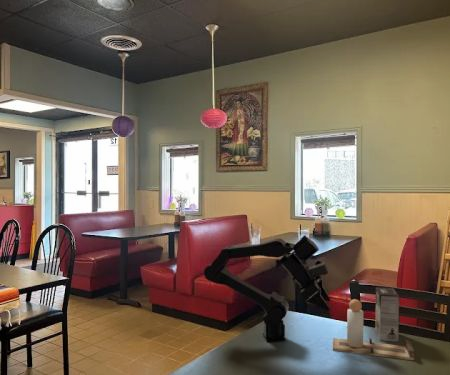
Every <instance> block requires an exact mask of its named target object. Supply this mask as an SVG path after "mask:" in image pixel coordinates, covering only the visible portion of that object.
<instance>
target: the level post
mask: <svg viewBox="0 0 450 375" xmlns="http://www.w3.org/2000/svg"><path fill="white" fill-rule="evenodd" d="M348 306H349V308H348V309H346V310H347V312H346V313H347V314H346V315H347V316H346V320H347V321H346V323H347V325H346V329H347V330H346V332H347V333H346V340H347V344H348V345H349V346H351V347H357V348H358V347H362V346H363V341H364V310H362V307H363V306H362V302H361V300H359V299H356V298H354V299H351V300H350V301H349V303H348Z"/></svg>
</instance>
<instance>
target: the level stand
mask: <svg viewBox="0 0 450 375" xmlns="http://www.w3.org/2000/svg"><path fill="white" fill-rule="evenodd" d="M332 351H335V352H337V351H338V352H343V353H344V352H345V353H353V354H360V355H368V356H375V357H376V356H377V357H383V358H391V359H401V360H407V361H415V350H414V348H413V346H412V342H411V341H410V340H405V345H395V344H387V343H379V342H373V341H372V338H371V337H369V341H364V340H363V346H362V347H358V348H357V347H351V346H349V345H348V344H347V338H346V339H345V338H344V339H343V338H337V337H333V338H332Z"/></svg>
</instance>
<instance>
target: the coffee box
mask: <svg viewBox="0 0 450 375" xmlns="http://www.w3.org/2000/svg"><path fill="white" fill-rule="evenodd" d="M399 306H400V295H399V294H398V292H397V291H396V289H395V288H394V287H378V286H377V287H375V317H374V318H375V324H374V326H375V327H374V329H375V332H376V334H377V337H378V339H379V340H380V341H387V342H397V341H398V342H399V320H400V319H399V315H400V314H399V312H400V311H399V310H400V307H399Z"/></svg>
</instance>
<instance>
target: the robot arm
mask: <svg viewBox="0 0 450 375" xmlns="http://www.w3.org/2000/svg"><path fill="white" fill-rule="evenodd" d="M319 251H320V248H319V247H318V246H317V244H316V243H315V242H314V241H313V240H312V239H310V238H309V237H308V236H307V235H303V236H302V237H301V238H300V239H299V240H298V241H297V242H296V243H290V242H288V241H287V242H286V241H285V240H283V239H282V238H278V237H277V238H274V239H270V240H267V241H264V242H261V243H257V244H247V245H241V246H240V245H239V246H226V247H224V248H223V249H221V251H220V252H219V254H218V255H217V257H216V258H215V259H214V260H213V261H212V263H210V264H208V265H207V266H206V267H205V268H204V269H203V275H204V279H205V280H207V281H208V282H211V283H214V284H217V285H222V286H227V287H228V288H230V289H232V290H233V291H235V292H236V293H238V294H241V295H242V296H243V297H246V298H247V299H249V300H250V301H253V302H254V303H256V304H258V305H259V306H260V307H261V308H262V309H263V311H264V312H265V314H264V315H263V317H262V319H263V332H262V337H263V338H264V340H265V342H268V343H269V342H270V343H271V342H283V341H286V339H285V336H286V325H285V324H284V320H283V319H284V318H285V317H286V316H287V313H288V311H289V309H290V306H289V302H288V301H287V300H286V299H285V296H282V295H280V294H278V292H275V291H273V292H272V293H270V294H269V293H266V292H265V291H262V290H260V289H259V288H257V287H255V286H254V285H252V284H250V283H248V282H247V281H244V280H243V279H241V278H239V277H237V276H236V275H234V274H233V273H232V272H231V271H230V270H229V269H228V268H227V265H228V264H229V261H230V260H231V259H232V260H233V259H241V258H251V257H259V256H260V257H261V256H262V257H266V258H277V259H275V262H276V263H275V264H276V265H275V268H276V269H278V268H280V266H282V267H283V268H284V269H285V270H286V272H288V274H289V275H290V276H291V279H292V280H293V281H295V282H296V283H297V284H298V285H299V286H300V289H301V290H300V294H299V296H300V298H301V299H302V300H303V302H306V303H309V304H311V305H314V306H316V307H319V308H320V309H323V310H325V311H329V310H330V306H329V305H328V303H329V302H331V298H330V296H329V294H328V292H327V291H326V289H325V287H324V286H323V279H324V277H322V276H326V275H328V274H329V271H330V270H329V269H328V266H327V264H326V261H325V262H324V261H322V260H321V259H318V260H315V264H314V265H312V266H309V265H308V264H305V263H303V262H302V261H304V260H305V261H307V262H308V260H309V259H310V258H312V257H313V256H314V255H315V254H316V253H317V252H319ZM280 257H281V258H280ZM327 302H328V303H327Z"/></svg>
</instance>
